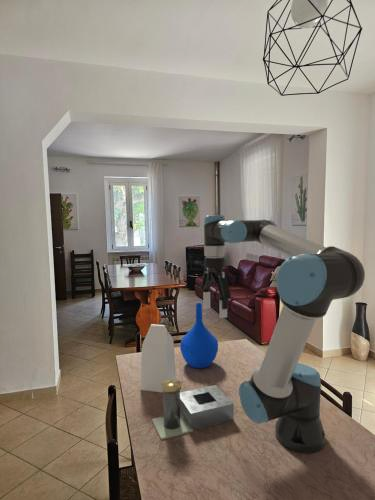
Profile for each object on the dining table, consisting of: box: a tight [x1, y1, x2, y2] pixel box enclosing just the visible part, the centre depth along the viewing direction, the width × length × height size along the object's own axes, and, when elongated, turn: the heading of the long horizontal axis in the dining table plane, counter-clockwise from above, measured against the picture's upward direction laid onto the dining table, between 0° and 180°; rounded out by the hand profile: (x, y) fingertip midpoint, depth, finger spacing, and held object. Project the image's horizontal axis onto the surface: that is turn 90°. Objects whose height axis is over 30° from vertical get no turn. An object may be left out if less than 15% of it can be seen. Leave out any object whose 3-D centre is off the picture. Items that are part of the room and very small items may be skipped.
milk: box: [140, 323, 177, 393], centre depth 139 cm, size 12×12×26 cm
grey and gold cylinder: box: [162, 379, 182, 429], centre depth 111 cm, size 7×7×14 cm
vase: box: [179, 302, 219, 369], centre depth 159 cm, size 18×18×30 cm
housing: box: [180, 384, 235, 431], centre depth 118 cm, size 14×16×6 cm
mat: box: [151, 413, 194, 441], centre depth 112 cm, size 11×11×1 cm
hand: (214, 312), depth 124 cm, fingers open, 13 cm apart
